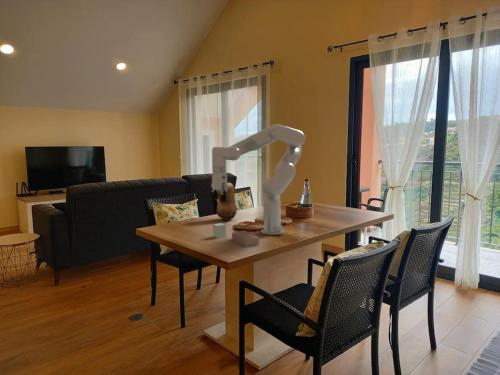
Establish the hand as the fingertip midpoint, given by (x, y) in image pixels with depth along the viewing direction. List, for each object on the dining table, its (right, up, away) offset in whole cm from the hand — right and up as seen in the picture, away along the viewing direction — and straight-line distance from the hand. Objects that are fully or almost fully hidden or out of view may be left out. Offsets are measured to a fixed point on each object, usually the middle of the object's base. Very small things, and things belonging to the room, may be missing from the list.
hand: (219, 200), depth 206 cm
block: (0, -20, +1) cm, 20 cm away
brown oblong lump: (+2, -15, +45) cm, 48 cm away
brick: (+15, -22, -12) cm, 29 cm away
